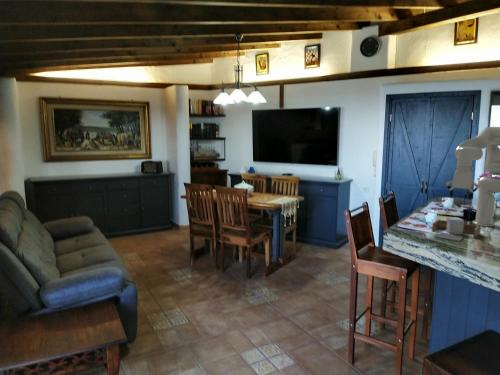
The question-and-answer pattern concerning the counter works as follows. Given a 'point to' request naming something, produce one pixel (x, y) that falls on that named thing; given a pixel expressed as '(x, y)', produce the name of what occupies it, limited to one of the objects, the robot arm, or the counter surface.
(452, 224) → the medicine box
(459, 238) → the mat
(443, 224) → the open side wooden frame
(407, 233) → the counter surface
